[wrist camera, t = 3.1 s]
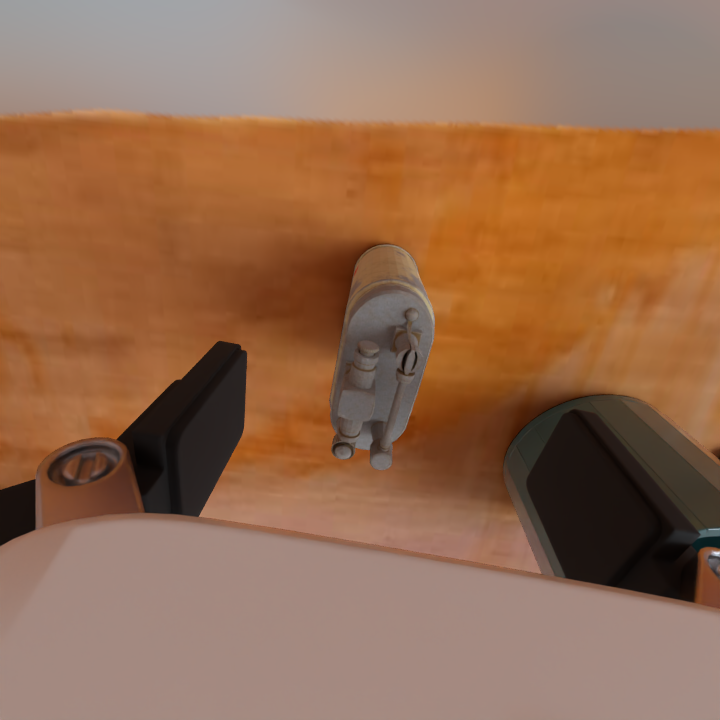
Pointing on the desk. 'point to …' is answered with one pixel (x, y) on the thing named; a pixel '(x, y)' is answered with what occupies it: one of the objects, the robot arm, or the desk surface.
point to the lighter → (380, 354)
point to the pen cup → (647, 445)
